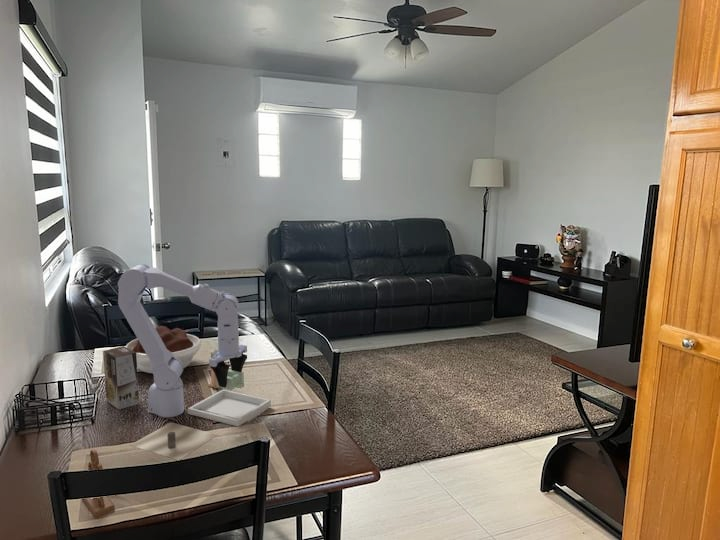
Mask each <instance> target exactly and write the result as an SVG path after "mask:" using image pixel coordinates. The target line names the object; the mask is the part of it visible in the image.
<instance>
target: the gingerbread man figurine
mask: <svg viewBox="0 0 720 540" xmlns="http://www.w3.org/2000/svg"><path fill="white" fill-rule="evenodd" d="M89 452H90V453H89V456H90V461H89V462H88V464H87V467H88V469H87V470H100V469H103V468H104V467H103V465H102V463H100V459H99V458H100V457H99V455H98V451H97V450H96V449H95V448H94V449H91V450H90V451H89ZM103 470H104V469H103ZM82 501H83V502H84V504H85V505H86V506H87V509H88V510H89V512H90V513H91V514H92V515H93V517H94V518H97V517H101V516H103V515H104V514H107V513H110V512H112V511H115V507H116V506H115V504H114V503H113V502H112V500H111V499H110V497H109V496H108V497H100V498H93V499H84V500H83V499H82Z"/></svg>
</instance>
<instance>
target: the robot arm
mask: <svg viewBox="0 0 720 540" xmlns="http://www.w3.org/2000/svg"><path fill="white" fill-rule="evenodd" d="M117 287H118V297H117V299H118V300H117V304H118V307H119V309H120V311H121V312H122V315H123V316H124V318H125V320H127V322H128V325H129V326H130V328H131V329H132V331H133V332H134V335H135V337H136V339H138V340H139V342H140V343H141V345H142V347H143V349H144V350H145V352H146V354H147V356H148V357H149V359H150V365H151V371H152V372H153V374H152V375H153V384H151V385H150V387H149V389H148V391H147V405H148V406H147V407H148V413H149V414H151V413H152V414H154V415H157V416H159V417H161V418H173V417H177V416H180V415H181V414H183V413H184V411H185V408H184V407H185V405H184V404H185V401H184V382H183V380H182V379H181V375H182V374H183V372H184V369H183V364H182V362H181V361H180V360H178V359H177V358H176V357H175V356H174V355H173V353H172V352H170V351H169V350H167V348H166V347H165V345H164V343H163V341H162V340H161V338H160V336H159V334H158V332H157V331H156V329H155V328H156V327H155V325H154V324H153V322H152V320H151V319H150V316H149V315H148V312H147V311H146V310H145V308H144V306H143V304H142V303H141V299H142V297H143V295H144V293H145V290H149V289H155V288H164V289H165V290H169V291H172V292H173V293H174V292H175V293H177V294H180V295H183V296H184V297H185V296H186V297H188V298H189V300H190V302H191V303H192V304H193V305H197V306H199V307H201V308H204V309H207V310H208V311H212V312H215V313H216V315H217V346H218V347H217V350H218V353H217V354H216V355H215V356H213V357H212V358H211V357H210V358H209V359H208V364H209V366H210V367H211V368H212V370H213V371H214V373H215V375H216V378H217V381H218V384H219V386H220V388H221V387H226V385H227V374H228V370H233V371H238V372H242V371H243V368H244V365H245V362H246V361H247V359H248V355H247V354H244V353H247V352H248V345H244V344H240V339H239V338H240V337H239V333H240V332H239V320H238V319H239V316H238V315H239V314H238V308H239V306H240V305H239V299H238V298H237V297H236V296H235V295H233V294H232V293H226V292H225V291H222V290H221V291H218V290H216V289H213V288H212V287H210V285H209V284H207V283H204V284H201V283H198V284H197V285H192V284H190V283H188V282H186V281H184V280H181V279H179V278H177V277H176V276H173V275H171V274H168V273H166V272H165V271H162V270H160V269H158V268H157V267H153V266H149V265H147V264H144V263H138V264H135V265H134V266H132V267H131V268H129V269H127V270H125V271H124V272H123V273H122V274H121V275H120V278H119V280H118V281H117ZM239 344H240V345H239ZM228 360H229V364H227V363H226V361H228Z"/></svg>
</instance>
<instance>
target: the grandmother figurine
mask: <svg viewBox="0 0 720 540" xmlns="http://www.w3.org/2000/svg"><path fill="white" fill-rule="evenodd" d="M217 353H218V349H211V350H210V351H209V354H210V359H211V358H212V357H213V356H215V355H216V354H217ZM207 370H210V373H211V375H210V383H209V384H208V385H207V387H208V388H213V389H214V388H219V387H216V375H215V373H214V371H213V370H212V368H211V367H210V366H209V363H208V364H207ZM219 389H220V388H219Z"/></svg>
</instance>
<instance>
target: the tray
mask: <svg viewBox="0 0 720 540" xmlns="http://www.w3.org/2000/svg"><path fill="white" fill-rule="evenodd" d="M269 407H271V408H272V400H271V399H268V398H264V397H259V396H256V395H251V394H245V393H242V392H238V391H233V390H230V389H225V388H222V389H221V390H219V391H217V392H215V393H214V394H212V395H210V396H209V397H208V396H207V398H204V399H203V400H200V401H199V402H197V403H195V404H193V405H192V406H190V407H188V408H187V415H192V416H196V417H200V418H203V419H207V420H212V421H215V422H218V423H223V424H227V425H231V426H234V427H240V426H241V425H243V424H244V423H245V422H249V423H251V422H252V421H253V420H255V419H256V418H258V417H259V416H260V415H259V414H261V413H262V412H263V411H265V410H267V409H268V408H269ZM268 410H269V409H268ZM268 410H267V411H268ZM265 412H266V411H265ZM262 414H263V413H262ZM262 414H261V415H262ZM258 415H259V416H258ZM257 416H258V417H257ZM254 418H255V419H254ZM251 420H252V421H251Z"/></svg>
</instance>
